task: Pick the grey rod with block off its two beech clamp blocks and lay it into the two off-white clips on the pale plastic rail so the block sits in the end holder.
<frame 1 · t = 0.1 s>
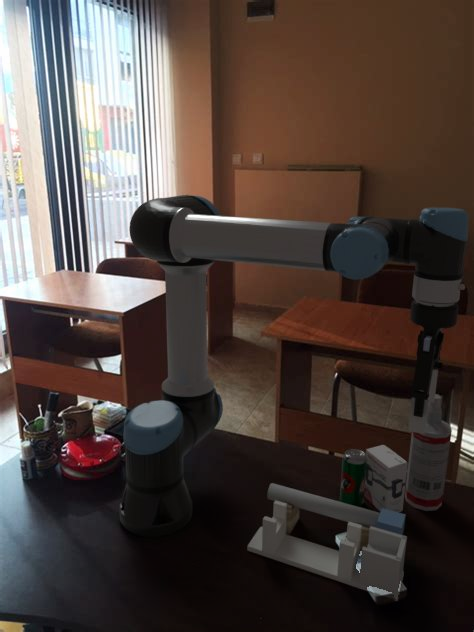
hand: (422, 415, 97), 28 cm above the table, fingers open, 13 cm apart
soda can: (351, 503, 118), on the table
white nozzle bottle: (422, 500, 119), on the table
ink box: (381, 503, 118), on the table
clip rail: (308, 558, 101), on the table
grey rod with block: (321, 512, 106), point 5 cm above the table, touching clamp blocks
clamp blocks: (320, 534, 107), on the table
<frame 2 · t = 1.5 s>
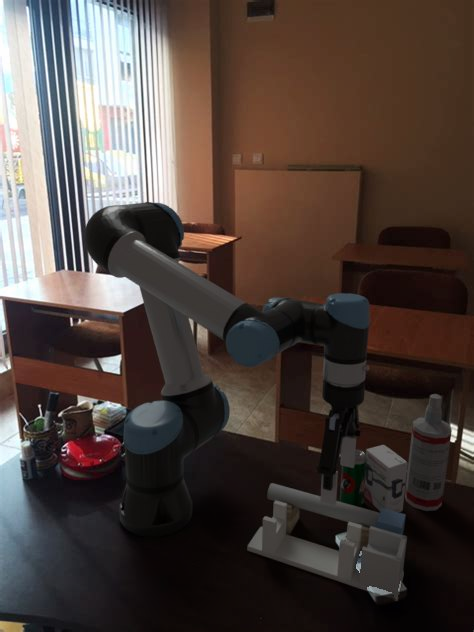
hand: (338, 483, 103), 13 cm above the table, fingers open, 13 cm apart
nothing on the table moved.
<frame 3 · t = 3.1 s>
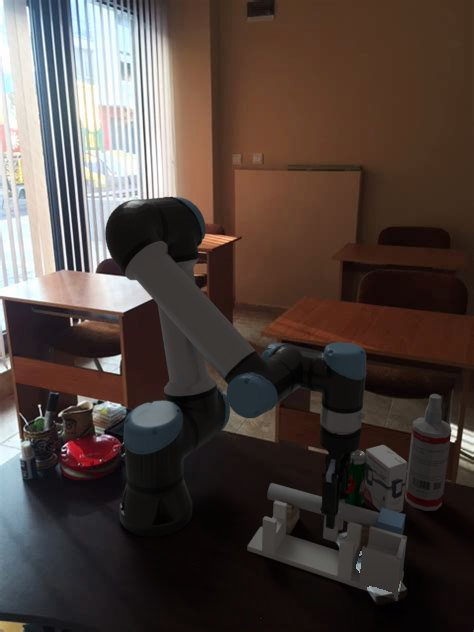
hand: (333, 532, 106), 1 cm above the table, fingers closed on grey rod with block, 3 cm apart
grey rod with block: (321, 512, 106), point 5 cm above the table, touching clamp blocks, gripper
everything else where it was.
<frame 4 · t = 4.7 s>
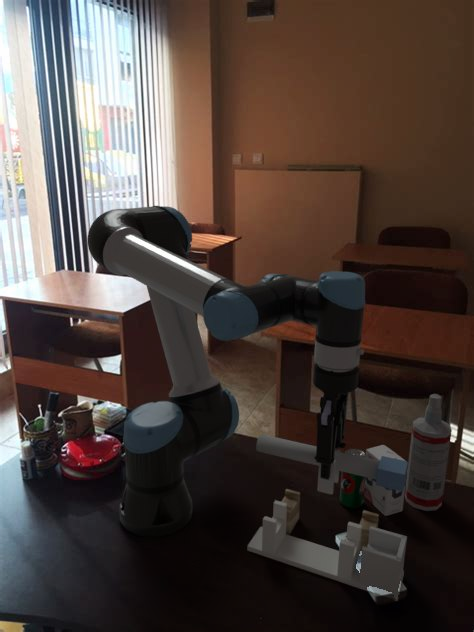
hand: (328, 485, 97), 15 cm above the table, fingers closed on grey rod with block, 3 cm apart
grey rod with block: (316, 463, 97), point 19 cm above the table, touching gripper
everything else where it was.
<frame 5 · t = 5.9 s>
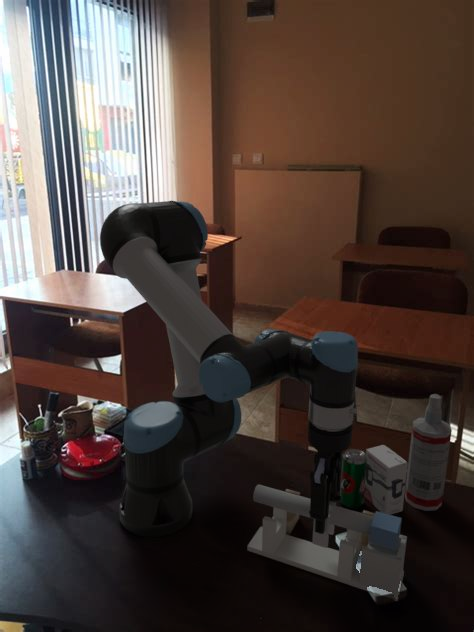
hand: (323, 537, 98), 5 cm above the table, fingers closed on grey rod with block, 3 cm apart
grey rod with block: (311, 516, 98), point 9 cm above the table, touching gripper
everything else where it was.
when the fingers open (2 cm above the table, at t = 6.6 s): grey rod with block drops 1 cm, resting on clip rail.
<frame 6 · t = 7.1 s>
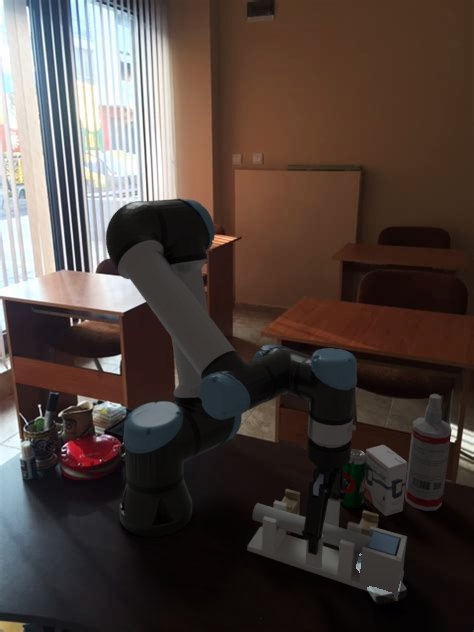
hand: (322, 546, 99), 4 cm above the table, fingers open, 10 cm apart
grey rod with block: (310, 535, 100), point 5 cm above the table, touching clip rail
everything else where it was.
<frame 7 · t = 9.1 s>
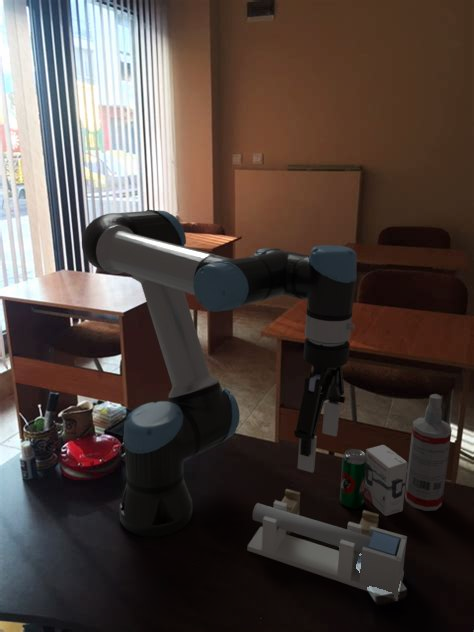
hand: (318, 450, 96), 22 cm above the table, fingers open, 13 cm apart
nothing on the table moved.
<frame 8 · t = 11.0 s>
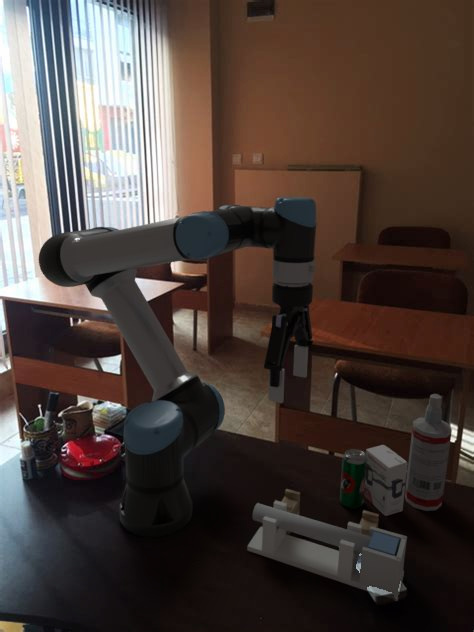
hand: (288, 388, 106), 29 cm above the table, fingers open, 13 cm apart
nothing on the table moved.
at the end: grey rod with block 0.0 cm off-centre on the clip rail, point 5.0 cm above the clip rail's base; the gripper is holding nothing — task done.
